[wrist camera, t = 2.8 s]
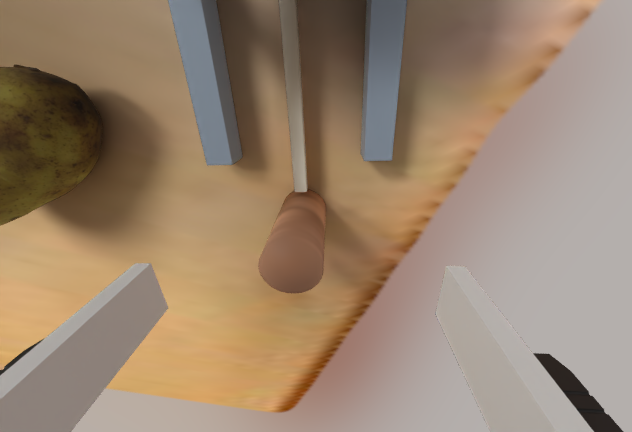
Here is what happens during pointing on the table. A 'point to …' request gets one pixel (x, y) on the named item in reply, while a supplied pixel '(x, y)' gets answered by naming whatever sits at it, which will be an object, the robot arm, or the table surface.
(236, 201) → the table surface
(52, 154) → the dirty green tuber
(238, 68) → the table surface
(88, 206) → the table surface
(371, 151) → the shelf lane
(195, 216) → the table surface
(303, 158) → the wooden mallet
